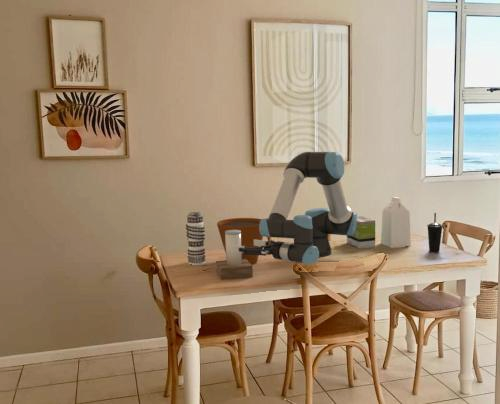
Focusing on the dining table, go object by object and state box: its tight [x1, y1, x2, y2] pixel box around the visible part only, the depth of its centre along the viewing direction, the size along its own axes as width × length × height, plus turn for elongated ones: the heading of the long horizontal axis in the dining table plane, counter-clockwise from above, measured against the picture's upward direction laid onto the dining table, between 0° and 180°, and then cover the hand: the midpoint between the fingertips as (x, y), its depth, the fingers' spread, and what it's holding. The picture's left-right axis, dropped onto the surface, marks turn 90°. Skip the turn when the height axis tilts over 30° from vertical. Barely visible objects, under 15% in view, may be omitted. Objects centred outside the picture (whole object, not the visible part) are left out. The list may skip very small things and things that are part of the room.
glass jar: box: [225, 230, 242, 266], centre depth 251 cm, size 7×7×15 cm
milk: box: [380, 196, 412, 249], centre depth 302 cm, size 12×12×26 cm
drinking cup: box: [426, 212, 444, 254], centre depth 285 cm, size 8×8×20 cm
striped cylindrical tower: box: [185, 211, 206, 266], centre depth 274 cm, size 9×9×25 cm
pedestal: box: [215, 259, 253, 280], centre depth 253 cm, size 14×14×5 cm
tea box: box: [346, 216, 376, 249], centre depth 304 cm, size 15×10×15 cm
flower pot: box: [216, 217, 264, 266], centre depth 274 cm, size 24×24×20 cm
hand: (244, 245), depth 247 cm, fingers open, 13 cm apart
